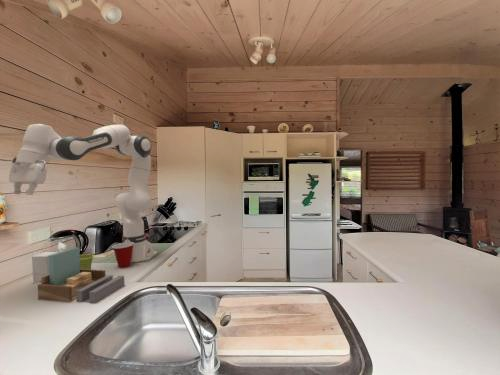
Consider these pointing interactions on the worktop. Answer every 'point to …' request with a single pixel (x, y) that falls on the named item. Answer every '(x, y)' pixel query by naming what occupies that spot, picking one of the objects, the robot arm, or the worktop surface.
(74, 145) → the robot arm
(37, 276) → the supplement box
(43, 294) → the open wooden tray
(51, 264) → the tall sheet
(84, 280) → the offcut stack
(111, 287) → the sheet stand
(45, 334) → the worktop surface
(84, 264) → the plant pot
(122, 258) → the plastic cup
